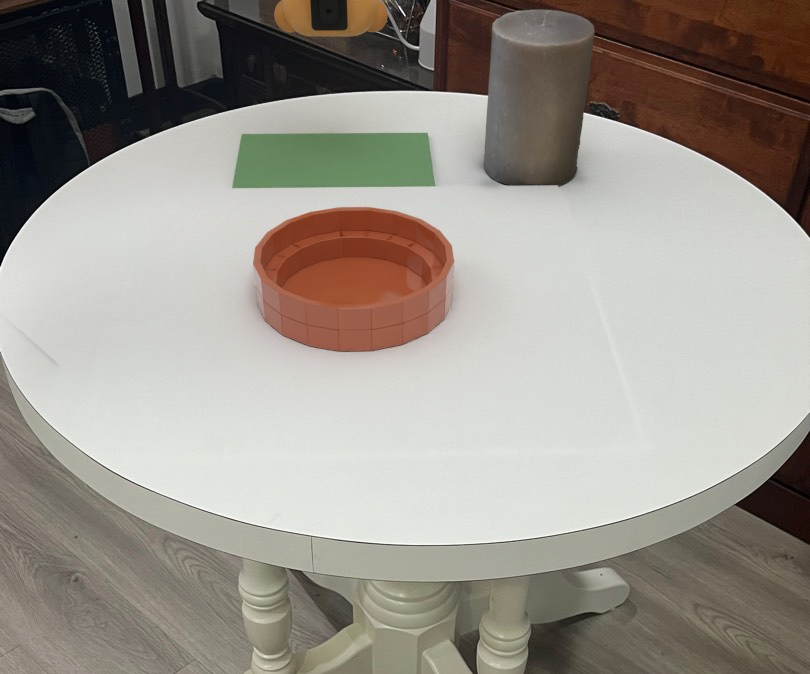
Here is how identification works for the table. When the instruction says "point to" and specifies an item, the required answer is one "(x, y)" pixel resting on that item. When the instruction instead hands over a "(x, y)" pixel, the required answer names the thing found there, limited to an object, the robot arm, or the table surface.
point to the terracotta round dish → (354, 278)
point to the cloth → (334, 160)
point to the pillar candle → (537, 96)
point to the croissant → (361, 17)
